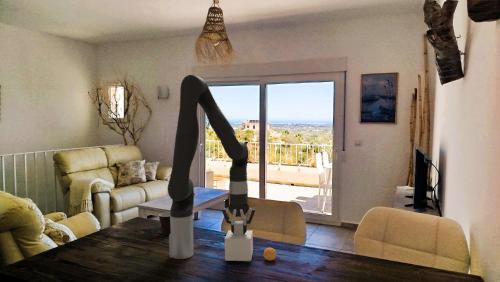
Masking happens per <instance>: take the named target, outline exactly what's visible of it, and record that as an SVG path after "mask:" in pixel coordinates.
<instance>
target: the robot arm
mask: <svg viewBox="0 0 500 282" xmlns="http://www.w3.org/2000/svg"><path fill="white" fill-rule="evenodd" d="M179 89H180V91H179V92H180V97H179V111H178V118H177V127H176V131H175V138H174V139H175V140H174V148H173V158H172V159H173V161H172V166H171V172H170V177H169V181H168V185H167V194H168V197H169V198H170V199H171V200H172V202H171V206H170V211H169V212H170V222H171V234H170V235H169V236H168V238H169V239H168V240H169V243H168V244H169V245H168V247H169V258H173V259H176V260H184V259H185V260H186V259H189V258H191V257H192V256H194V250H195V249H194V218H193V216H194V214H193V212H194V211H193V210H194V205H195V204H194V203H195V201H194V199H195V197H194V195H195V187H194V183H193V180H192V179H191V178H190V173H191V166H192V165H193V164H192V163H193V161H194V158H195V156H196V152H197V148H198V143H199V136H200V126H199V120H198V105H199V106H200V107H201V108H202V110H203V111H204V113H205V116H206V118H207V121H208V123H209V125H210V127H211V129H212V130H213V132H214V133H215V135H216V137H217V138H218V139H219V141H220V143H221V146H222V148H223V150H224V152H225V154H226V155H227V156H228V158H229V159H230V160H231V166H230V167H229V171H228V172H229V174H228V175H229V184H228V193H229V195H228V198H229V200H228V201H229V202H228V203H229V204H228V207H224V208H223V209H222V210H221V212H222V214H223V217H224V219H225V223H227V224H228V225H229V224H230V230H231V232H232V233H233V234H234V222H235V221H236V218H237V217H239V218H241V219H242V220H241V221H243V234H245V233H246V232H247V230H248V225H251V224H252V220H253V218H254V215H255V213H256V208H252V207H250V205H249V185H248V184H249V183H248V172H247V171H248V170H247V168H248V163H249V162H248V161H249V147H248V145H247V144H246V143H245V142H243V141H239V140H238V138H237V137H236V135H235V134H236V132H235V129H234V127H233V126H232V125H231V123H230V122H229V120H228V119H227V117H226V116H225V114H224V112H222V110H221V109H220V108H221V107H219V106H218V104H217V102H216V100H215V98H214V96H213V94H212V92H211V90H210V88H209V85H208V82H206V80H205V79H204V78H202V77H200V76H197V75H195V74H188V75H185V77H183V79H182V81H181V83H180V88H179ZM229 212H230V214H231V215H232V216H231V218H230V217H229ZM248 212H249V214H250V216H249V217H248V219H247V216H246V214H247V213H248Z"/></svg>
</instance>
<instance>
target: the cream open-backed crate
mask: <svg viewBox="0 0 500 282" xmlns="http://www.w3.org/2000/svg"><path fill="white" fill-rule="evenodd" d="M253 239H254V233H253V229H252V230H248V229H247V232H246V233H245V234H243V220H235V222H234V234H233V233H232V232H231V229H228V230H227V232H226V236H225V237H224V260H225V261H232V262H233V261H237V262H241V261H242V262H251V261H252V258H253V252H254V240H253Z"/></svg>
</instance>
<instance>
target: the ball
mask: <svg viewBox="0 0 500 282" xmlns="http://www.w3.org/2000/svg"><path fill="white" fill-rule="evenodd" d="M263 257H264V259H265V260H266V261H273V260H275V259H276V257H277V252H276V250H275V249H274V248H272V247H266V248H265V249H264V251H263Z"/></svg>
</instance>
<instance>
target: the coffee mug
mask: <svg viewBox="0 0 500 282" xmlns="http://www.w3.org/2000/svg"><path fill="white" fill-rule="evenodd" d="M158 218H159V225H160V232H161V236H163V235H170V234H171V222H170V211H166V212H165V211H164V212H161V213H159V214H158Z"/></svg>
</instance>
